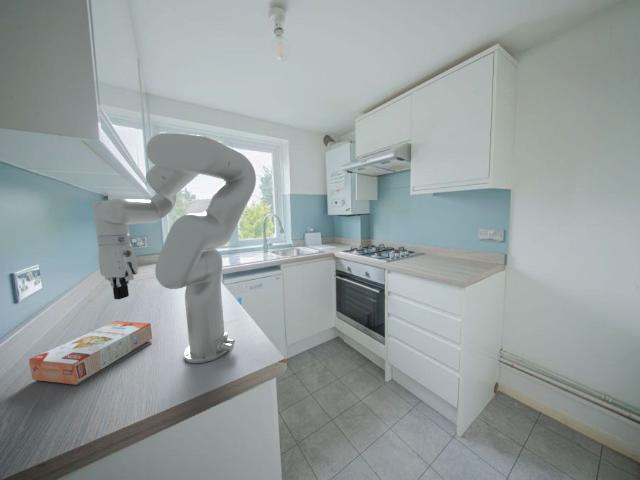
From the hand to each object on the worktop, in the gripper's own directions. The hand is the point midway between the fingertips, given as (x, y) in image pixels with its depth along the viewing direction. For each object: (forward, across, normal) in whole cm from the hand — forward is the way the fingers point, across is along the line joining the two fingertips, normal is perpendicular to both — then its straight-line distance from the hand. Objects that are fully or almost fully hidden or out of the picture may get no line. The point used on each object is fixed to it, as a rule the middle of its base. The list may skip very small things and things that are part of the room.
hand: (121, 297), depth 72 cm
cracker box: (+12, 0, -2) cm, 12 cm away
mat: (+15, -1, +8) cm, 17 cm away
